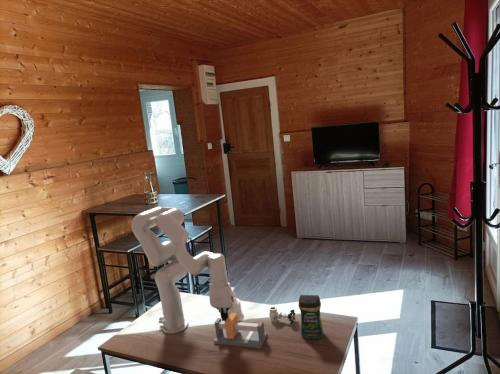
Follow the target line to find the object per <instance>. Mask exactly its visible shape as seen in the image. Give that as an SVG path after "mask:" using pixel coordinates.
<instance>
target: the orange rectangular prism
mask: <svg viewBox="0 0 500 374" xmlns="http://www.w3.org/2000/svg"><path fill="white" fill-rule="evenodd" d="M235 322H240V321H239V315H238V314H237V313H231V314H230V315H229V317H228V318H227V319H226V321H225V329H226V336H227V338H228V339H233V338H234V337H235V335H236V334H237V332H238V331H239V330H234V325H233V324H234V323H235Z"/></svg>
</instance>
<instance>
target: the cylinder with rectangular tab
mask: <svg viewBox="0 0 500 374" xmlns="http://www.w3.org/2000/svg"><path fill="white" fill-rule="evenodd" d="M231 289H232V293H233V297H234V308H232V309H229V310H228V317H229V315H230V314H231V313H237V314H238V316H240V315H241V314H242V306H241V301H240V298H238V297H236V291H235V286H233V287H232V286H231Z"/></svg>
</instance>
